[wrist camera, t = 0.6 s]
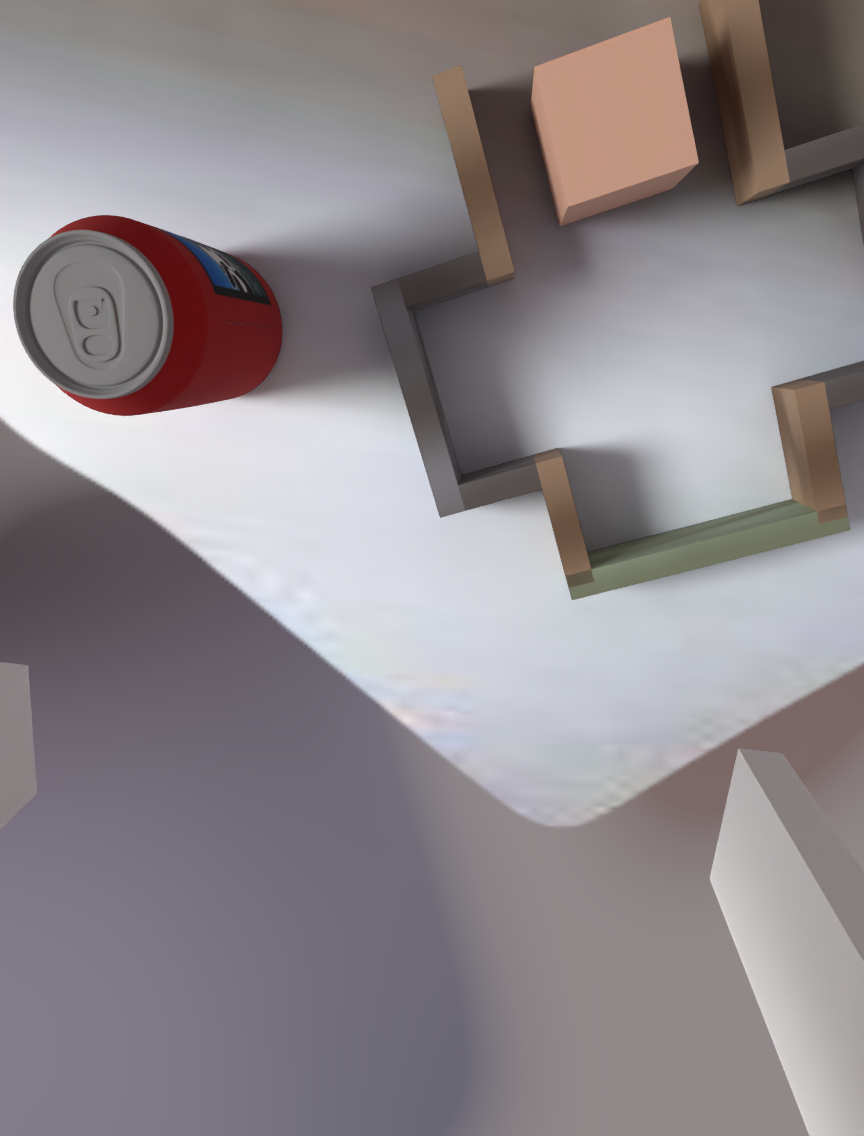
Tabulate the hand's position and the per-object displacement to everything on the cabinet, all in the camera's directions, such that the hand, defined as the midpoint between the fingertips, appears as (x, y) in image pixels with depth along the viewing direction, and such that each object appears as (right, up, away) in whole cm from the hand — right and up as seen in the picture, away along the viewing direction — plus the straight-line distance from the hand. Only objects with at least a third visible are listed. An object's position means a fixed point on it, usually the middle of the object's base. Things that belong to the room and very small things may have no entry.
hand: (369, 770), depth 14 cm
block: (+9, +22, +19) cm, 30 cm away
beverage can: (-9, +15, +23) cm, 29 cm away
